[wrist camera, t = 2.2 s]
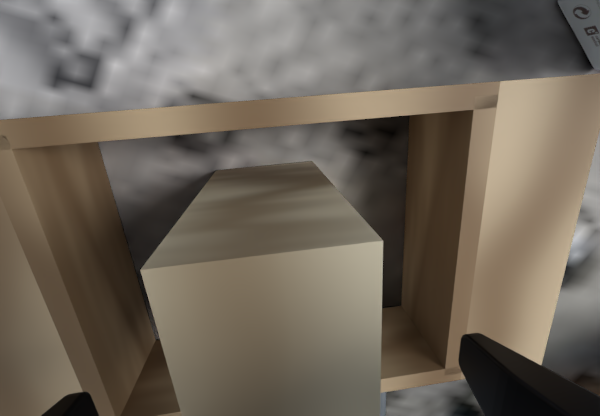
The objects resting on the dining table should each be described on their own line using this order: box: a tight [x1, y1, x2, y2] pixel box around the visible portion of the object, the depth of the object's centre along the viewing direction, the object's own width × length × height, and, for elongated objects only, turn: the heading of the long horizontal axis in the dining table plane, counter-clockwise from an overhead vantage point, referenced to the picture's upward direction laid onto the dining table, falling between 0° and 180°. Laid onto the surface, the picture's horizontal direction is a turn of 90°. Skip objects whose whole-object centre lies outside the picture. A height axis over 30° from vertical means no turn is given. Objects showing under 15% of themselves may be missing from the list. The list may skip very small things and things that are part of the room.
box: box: [140, 161, 383, 416], centre depth 11 cm, size 4×7×9 cm, turn 4°
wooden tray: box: [0, 74, 600, 416], centre depth 13 cm, size 24×13×4 cm, turn 94°
